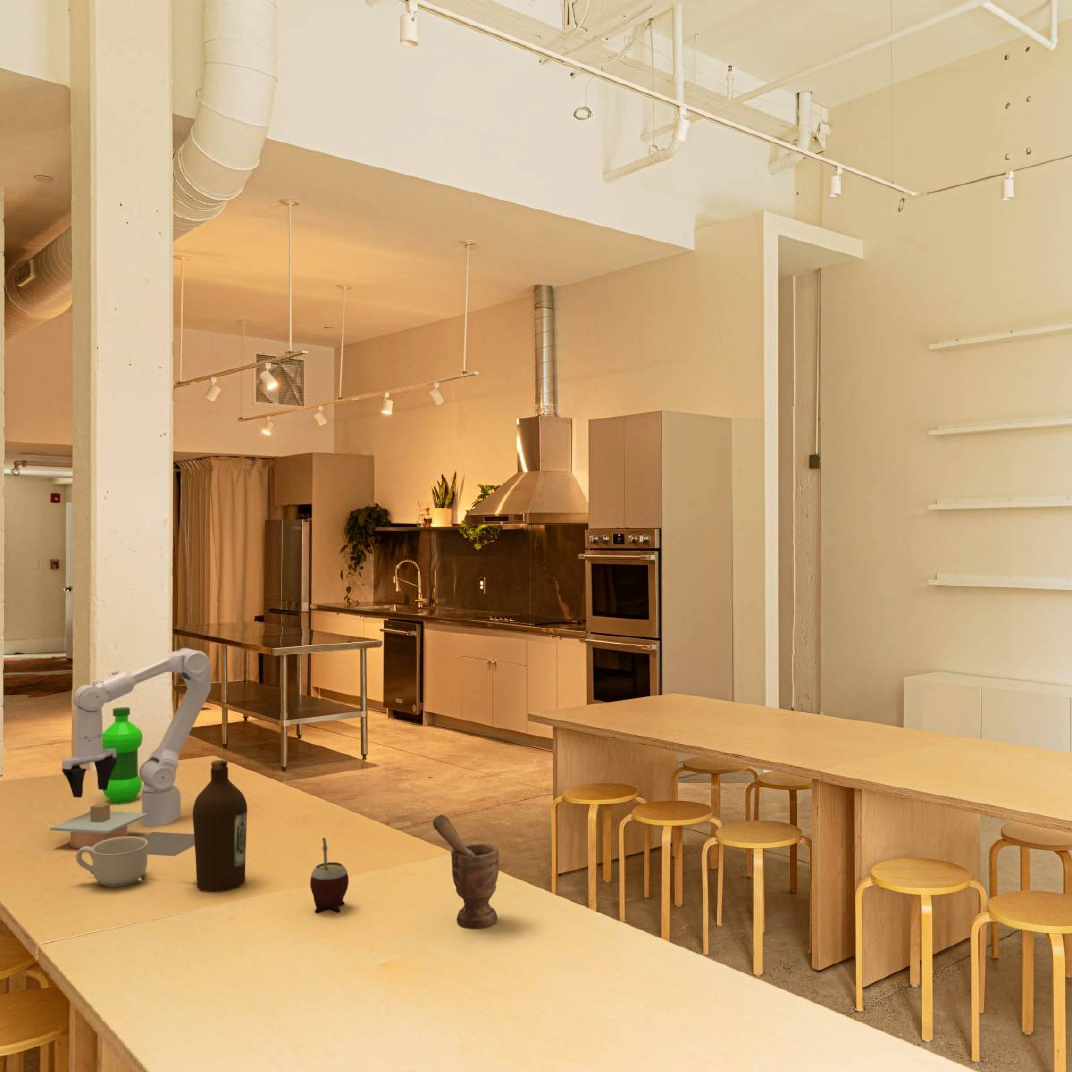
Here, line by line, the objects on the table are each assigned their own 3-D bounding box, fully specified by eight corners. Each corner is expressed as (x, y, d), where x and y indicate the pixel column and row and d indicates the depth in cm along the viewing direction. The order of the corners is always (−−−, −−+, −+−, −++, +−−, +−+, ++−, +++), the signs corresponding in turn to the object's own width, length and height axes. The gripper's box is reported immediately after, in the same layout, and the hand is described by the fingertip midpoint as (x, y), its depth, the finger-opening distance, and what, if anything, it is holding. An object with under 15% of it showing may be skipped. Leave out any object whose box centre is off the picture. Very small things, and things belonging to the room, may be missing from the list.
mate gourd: (335, 899, 200) (333, 822, 200) (358, 909, 195) (357, 829, 195) (301, 909, 195) (300, 830, 195) (324, 920, 190) (323, 838, 190)
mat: (153, 835, 246) (153, 831, 246) (213, 838, 243) (213, 835, 243) (110, 855, 231) (110, 851, 231) (174, 859, 227) (174, 855, 227)
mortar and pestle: (455, 938, 180) (454, 823, 180) (428, 924, 186) (427, 814, 186) (508, 922, 187) (507, 812, 187) (481, 909, 194) (479, 803, 194)
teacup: (157, 874, 217) (157, 836, 217) (132, 892, 206) (131, 852, 207) (94, 873, 219) (94, 835, 219) (66, 890, 208) (65, 851, 208)
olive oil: (186, 893, 205) (184, 767, 205) (202, 876, 215) (200, 756, 215) (240, 892, 205) (239, 766, 205) (253, 875, 216) (251, 755, 216)
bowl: (93, 835, 247) (93, 814, 247) (138, 838, 244) (137, 817, 244) (59, 850, 235) (59, 828, 235) (105, 853, 232) (105, 831, 232)
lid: (93, 812, 249) (92, 795, 249) (148, 815, 245) (148, 798, 245) (50, 830, 234) (49, 812, 234) (108, 833, 230) (107, 815, 231)
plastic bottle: (114, 795, 286) (113, 705, 286) (150, 796, 284) (149, 705, 284) (94, 805, 276) (92, 711, 276) (131, 805, 275) (129, 711, 275)
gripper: (77, 742, 238) (78, 801, 238) (125, 731, 251) (126, 787, 251) (55, 740, 240) (56, 799, 240) (103, 729, 254) (104, 785, 254)
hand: (90, 793), depth 246 cm, fingers open, 7 cm apart
